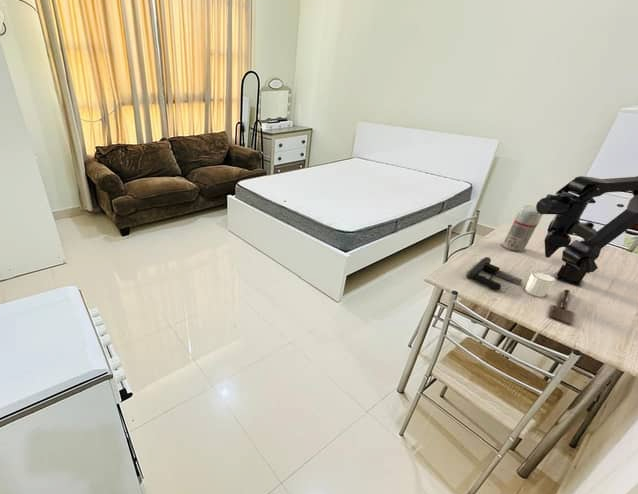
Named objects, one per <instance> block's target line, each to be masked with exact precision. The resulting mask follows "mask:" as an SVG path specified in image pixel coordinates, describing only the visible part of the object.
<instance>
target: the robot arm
mask: <svg viewBox="0 0 638 494" xmlns="http://www.w3.org/2000/svg"><path fill="white" fill-rule="evenodd" d="M621 192H631V194H632V197H631V198H630V199H629V201H628V204H627V207H626V209H624V210H623V211H622V212H621V213H619V214H618V215H617V216H616V217H614V218H613V219H611V220H610V221H609V222H608V223H606V224H605V225H603V227H600V229H599V230H596V228H594V227H595V225H594V224H595V223H593V222H591V221H586V222H581V221H580V220H581V217H582V215H583V213H584V211H585V210H586V208H587V206H588V205H589V204H596V203H597V202H596V200H595V199H594V198H598V197H601V196H602V195H604V194H609V193H621ZM535 207H536V209H537V212H538V213H540V214H543V215H556V216H555V218H554V219H552V220H550V222H549V224H548V227H547V233H546V236H545V237H544V257H545V258H547V259H549V258H550V257H552V256H553V255H554V254H555V253H556V252H557V251H558V250H559V249H561V248H564V249H563V251H562V255H561V261H562V262H564V264H561V266H560V267H559V269H558V270H557V273H556V280H559V281H562V282H566V283H568V284H571V285H575V286H578V287H579V286H581V282H582V281H583V280H584V278H585V276H586V275H587V274H591V273H594V272H595V271H596V270H598V269H599V268H598V265H597V263H596V262H595V261H596V260H597V259H598V258H599V256H600V254H601V252H602V251H601V250H602V249H603V248H605V247H606V246H607V245H608V244H610V243H611V242H612V241H614V240H616V239H617V238H618V237H619V236H621V235H622V234H623V233H625V232H626V231H628V230H629V229H631V228H632V227H633V226H635V225H636V224H637V223H638V175H637V176H626V177H614V178H613V177H612V178H598V177H592V176H583V175H580V176H579V175H578V176H576V177H574V179H572V180H571V181H569V182H568V183H567V184H565V185H564V186H562V187H561V188H560V189H559V190H557V191H556V192H555V194H552V193H551V194H549V193H548V194H546V196H545V197H542V198H541V199H539V200H538V201H537V202H536V206H535ZM573 235H575V236H578V237H580V238H581V239H582V240H577V239H575V240H573V241H572V237H571V236H573Z"/></svg>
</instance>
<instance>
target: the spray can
mask: <svg viewBox="0 0 638 494" xmlns="http://www.w3.org/2000/svg"><path fill="white" fill-rule="evenodd" d="M543 215H544V214H540V213H538V212H537V209H536V206H535V205H529V204H527V205H524V206H523V207H522V208H520V209H519V211H518V212H517V214H516V216H515V218H514V220H513V222H512V225H511V227H510V229H509V231H508V233H507V235H506V237H505V239H504V241H503V242H502V247H504V248H505V249H507V250H510V251H513V252H523V251H525V249H526V247H527V245H528V244H529V241H530V240H531V238H532V236H533V234H534V232H535V231H536V228H537V226H539V223H540V221H541V219H542V217H543Z"/></svg>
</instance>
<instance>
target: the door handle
mask: <svg viewBox="0 0 638 494" xmlns="http://www.w3.org/2000/svg"><path fill="white" fill-rule="evenodd" d="M491 262H492V259H491V258H490V257H488V256H486V257H483V258H480V261H478V262H477V263H476V265H474V266H473V267H472V268H470V270H469V271H468V270H466V272H464V273H465V277H466V279H467V280H471V281H474V282H476V283H479V284H480V285H483V286H485V287H488V288H490V289H492V290H494V291H500V289H502V284H501V283H499V282H497V281H494V280H492V279H493V278H494V277H496V276H497V277H500V278H503V279H505V280H507V281H510V282H512V283H514V284H517V285H521V284H522V281H523V279H522V278H520V277H517V276H515V275H512V274H510V273H508V272H506V271H504V270H500V269H501V267H499V266H496V265H495V264H491ZM482 272H483V273H486V274H489V275H491V276H490V277H489V278H488V277H487V276H486V275H481V274H480V273H482Z"/></svg>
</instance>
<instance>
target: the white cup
mask: <svg viewBox="0 0 638 494" xmlns="http://www.w3.org/2000/svg"><path fill="white" fill-rule="evenodd" d="M556 282H557V278H556V277H554V276H553V275H551V274H549V273H547V272H542V271H537V270H536V271H532V272H531V274H530V276H529V278H528V281H527V283H526V285H525V288H524V289H525V292H527V293H528V294H530V295H532V296H534V297H539V298H542V297H546V295H547V294H548V292H549V291H551V290H550V289H551V288H552V287H553V286H554V284H555V283H556Z"/></svg>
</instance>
